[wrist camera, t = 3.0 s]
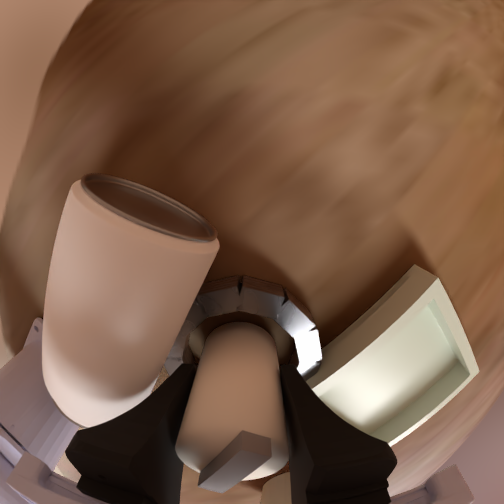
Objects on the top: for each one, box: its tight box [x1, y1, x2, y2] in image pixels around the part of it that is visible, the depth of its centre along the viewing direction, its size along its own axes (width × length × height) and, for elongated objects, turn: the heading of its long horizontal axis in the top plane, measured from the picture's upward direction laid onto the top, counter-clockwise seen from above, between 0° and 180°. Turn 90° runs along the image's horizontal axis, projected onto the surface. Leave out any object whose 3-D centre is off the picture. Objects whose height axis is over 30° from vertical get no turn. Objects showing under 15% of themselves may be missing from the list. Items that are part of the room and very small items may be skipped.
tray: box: [306, 264, 479, 447], centre depth 14 cm, size 11×11×2 cm
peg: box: [175, 322, 289, 493], centre depth 10 cm, size 4×4×8 cm
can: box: [42, 173, 220, 429], centre depth 11 cm, size 6×6×12 cm
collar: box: [164, 275, 322, 381], centre depth 14 cm, size 8×8×2 cm
